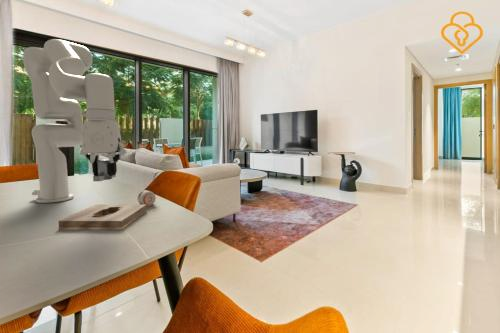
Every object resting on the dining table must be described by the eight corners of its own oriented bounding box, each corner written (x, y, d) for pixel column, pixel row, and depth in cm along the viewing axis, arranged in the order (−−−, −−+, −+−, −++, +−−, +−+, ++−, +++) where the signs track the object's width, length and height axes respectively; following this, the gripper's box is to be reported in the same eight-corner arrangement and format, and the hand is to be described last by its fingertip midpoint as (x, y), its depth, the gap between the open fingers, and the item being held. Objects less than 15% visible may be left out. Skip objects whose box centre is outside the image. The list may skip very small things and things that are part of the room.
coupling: (106, 176, 85) (105, 158, 84) (118, 176, 85) (117, 158, 84) (90, 181, 76) (88, 161, 75) (103, 181, 76) (102, 161, 75)
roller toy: (136, 206, 99) (135, 191, 98) (152, 203, 103) (151, 188, 102) (141, 208, 96) (140, 193, 95) (157, 205, 100) (156, 190, 99)
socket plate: (58, 229, 73) (58, 220, 73) (96, 211, 91) (95, 204, 91) (122, 229, 73) (121, 220, 73) (146, 211, 91) (146, 204, 91)
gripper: (65, 115, 75) (70, 177, 77) (122, 115, 75) (126, 177, 77) (81, 117, 82) (85, 173, 84) (134, 117, 82) (136, 173, 84)
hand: (104, 174), depth 80 cm, fingers closed on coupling, 4 cm apart
